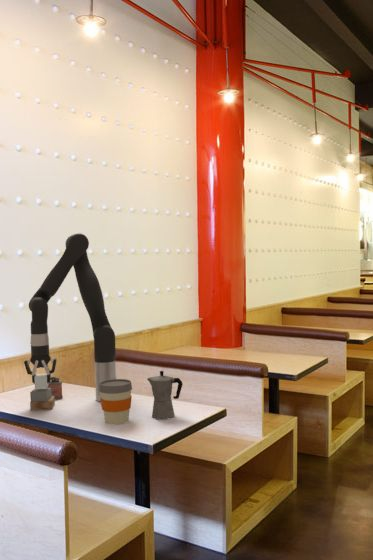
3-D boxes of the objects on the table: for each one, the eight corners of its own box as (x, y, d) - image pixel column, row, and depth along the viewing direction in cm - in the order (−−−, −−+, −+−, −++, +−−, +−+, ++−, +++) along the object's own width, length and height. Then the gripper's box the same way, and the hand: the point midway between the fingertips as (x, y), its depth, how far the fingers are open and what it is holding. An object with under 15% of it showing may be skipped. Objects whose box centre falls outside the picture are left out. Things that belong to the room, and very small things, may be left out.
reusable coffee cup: (127, 426, 209) (126, 386, 208) (95, 425, 211) (94, 386, 211) (137, 416, 221) (135, 379, 220) (107, 416, 224) (105, 378, 223)
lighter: (63, 397, 257) (62, 375, 257) (61, 399, 254) (60, 377, 253) (46, 397, 258) (45, 375, 257) (44, 399, 254) (43, 377, 254)
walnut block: (54, 404, 246) (54, 395, 245) (52, 410, 237) (51, 400, 236) (33, 406, 245) (33, 397, 244) (30, 411, 236) (30, 402, 235)
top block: (48, 385, 243) (48, 373, 243) (46, 387, 238) (46, 376, 238) (36, 385, 242) (36, 374, 242) (34, 388, 237) (34, 376, 237)
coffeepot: (142, 418, 219) (141, 372, 218) (153, 411, 228) (152, 367, 227) (178, 421, 213) (176, 374, 212) (188, 414, 221) (186, 369, 221)
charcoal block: (51, 396, 243) (51, 387, 243) (47, 401, 236) (46, 391, 236) (35, 397, 244) (35, 388, 243) (30, 401, 237) (30, 392, 236)
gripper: (57, 341, 244) (59, 380, 245) (24, 343, 242) (25, 382, 243) (55, 344, 236) (57, 384, 237) (21, 346, 235) (22, 386, 235)
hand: (41, 383), depth 240 cm, fingers closed on top block, 5 cm apart
